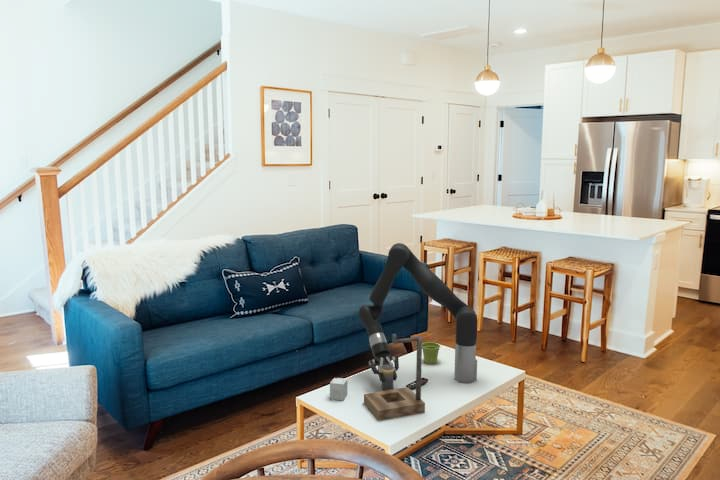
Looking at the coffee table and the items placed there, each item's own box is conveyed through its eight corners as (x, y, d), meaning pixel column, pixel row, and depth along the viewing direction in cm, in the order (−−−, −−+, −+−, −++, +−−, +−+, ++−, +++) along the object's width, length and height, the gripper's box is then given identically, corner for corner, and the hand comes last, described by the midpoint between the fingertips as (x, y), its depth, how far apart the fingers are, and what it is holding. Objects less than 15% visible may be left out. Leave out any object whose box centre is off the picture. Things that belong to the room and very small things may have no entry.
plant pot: (434, 367, 266) (435, 350, 264) (417, 363, 271) (417, 346, 270) (443, 361, 274) (443, 344, 272) (426, 357, 279) (426, 340, 277)
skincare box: (343, 401, 229) (343, 384, 228) (329, 399, 231) (329, 382, 230) (347, 395, 235) (347, 378, 234) (334, 393, 237) (334, 377, 236)
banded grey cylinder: (390, 386, 243) (390, 363, 241) (395, 391, 238) (395, 367, 236) (379, 388, 241) (379, 365, 239) (384, 393, 236) (384, 369, 235)
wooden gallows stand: (407, 395, 234) (408, 322, 229) (424, 412, 220) (426, 334, 214) (363, 403, 227) (364, 327, 222) (378, 420, 213) (379, 340, 208)
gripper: (366, 343, 241) (376, 379, 232) (396, 339, 246) (407, 375, 237) (362, 350, 247) (371, 386, 238) (391, 347, 252) (401, 382, 242)
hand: (389, 380), depth 237 cm, fingers closed on banded grey cylinder, 5 cm apart
